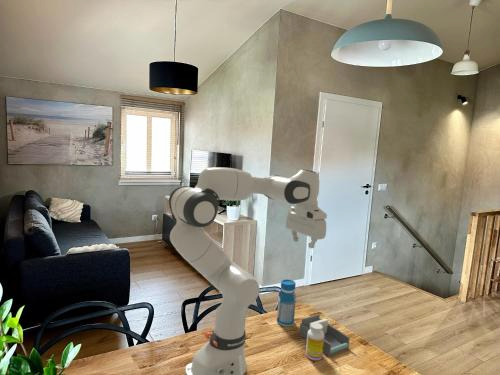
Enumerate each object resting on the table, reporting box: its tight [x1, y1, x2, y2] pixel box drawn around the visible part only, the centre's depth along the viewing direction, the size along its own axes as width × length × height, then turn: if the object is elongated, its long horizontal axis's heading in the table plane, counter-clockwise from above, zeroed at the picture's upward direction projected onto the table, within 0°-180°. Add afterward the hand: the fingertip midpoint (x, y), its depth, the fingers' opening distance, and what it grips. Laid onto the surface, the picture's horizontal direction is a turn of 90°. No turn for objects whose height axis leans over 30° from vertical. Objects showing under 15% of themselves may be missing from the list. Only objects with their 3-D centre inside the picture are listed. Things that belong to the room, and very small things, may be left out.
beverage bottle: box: [276, 279, 297, 327], centre depth 159 cm, size 8×8×20 cm
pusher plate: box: [309, 318, 329, 334], centre depth 149 cm, size 9×2×6 cm, turn 123°
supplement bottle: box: [305, 323, 324, 361], centre depth 135 cm, size 7×7×13 cm
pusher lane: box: [299, 313, 350, 357], centre depth 146 cm, size 12×18×7 cm, turn 33°
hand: (303, 244), depth 136 cm, fingers open, 8 cm apart
